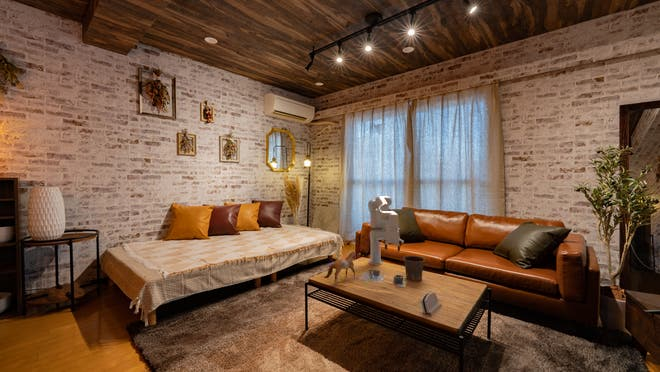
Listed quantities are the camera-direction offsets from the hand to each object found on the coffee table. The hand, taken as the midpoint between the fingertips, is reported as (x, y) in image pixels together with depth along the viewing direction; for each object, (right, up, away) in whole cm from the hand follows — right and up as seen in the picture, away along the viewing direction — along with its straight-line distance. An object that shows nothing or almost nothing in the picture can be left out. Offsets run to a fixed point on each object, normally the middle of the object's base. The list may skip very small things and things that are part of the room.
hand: (392, 250), depth 214 cm
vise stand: (-16, -24, +2) cm, 28 cm away
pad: (+3, -24, -7) cm, 25 cm away
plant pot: (+18, -24, +4) cm, 30 cm away
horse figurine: (-41, -24, 0) cm, 47 cm away
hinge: (+13, -26, -46) cm, 54 cm away
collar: (+3, -23, -7) cm, 24 cm away
